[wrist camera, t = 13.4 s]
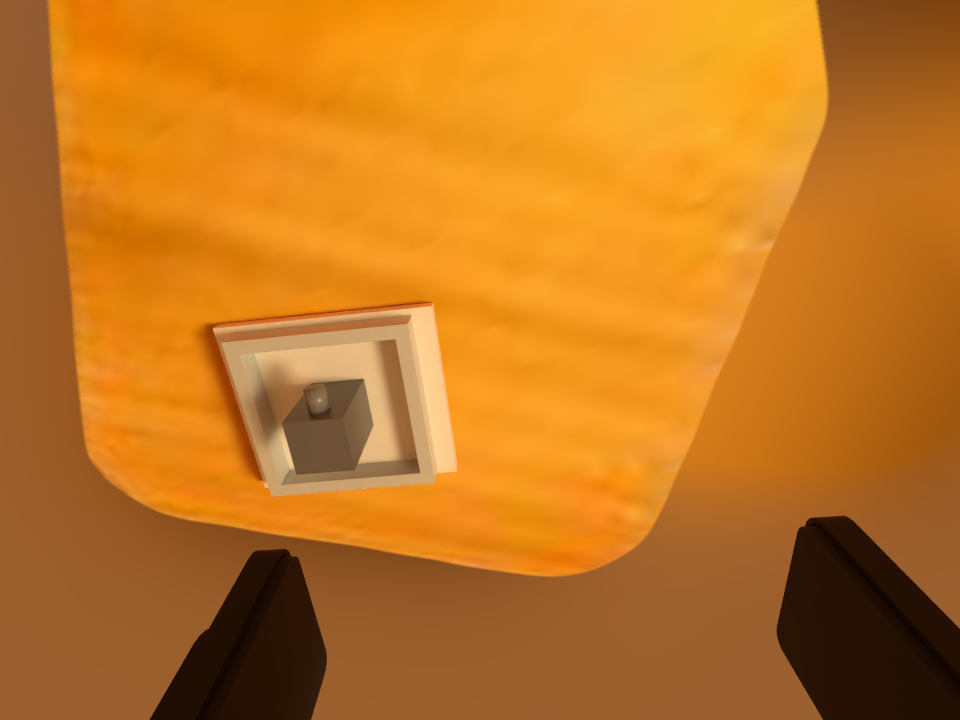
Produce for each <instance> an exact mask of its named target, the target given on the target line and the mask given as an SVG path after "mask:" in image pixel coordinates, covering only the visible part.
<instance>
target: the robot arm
mask: <svg viewBox="0 0 960 720" xmlns="http://www.w3.org/2000/svg"><path fill="white" fill-rule="evenodd" d="M777 637H778V641H779V644H780V647H781V649H782V651H783V653H784V654H785V656H786V658H787V659H788V661H789V663H790V664H791V666H792V668H793V669H794V671H795V673H796V675H797V676H798V678H799V680H800V681H801V683H802V684H803V686H804V688H805V690H806V691H807V693H808V695H809V696H810V698H811V700H812V701H813V703H814V705H815V706H816V708H817V710H818V711H819V713H820V715H821V717H822V718H823V720H960V629H959V628H958V627H957V626H956V625H955V624H954V623H953V622H952V621H951V619H949V617H948V616H946V614H945V613H944V612H943V611H942V610H941V609H940V608H938V606H937V605H936V604H935V603H934V602H933V601H932V600H931V599H930V598H929V597H928V596H927V595H926V594H925V593H924V592H923V591H922V590H921V589H920V588H919V587H918V586H917V585H916V584H915V583H914V582H913V581H912V580H911V579H910V578H909V577H908V576H907V575H906V574H905V573H904V572H903V571H902V570H901V569H900V568H899V567H898V566H897V565H896V564H895V563H894V562H893V561H892V560H891V559H890V558H889V557H888V556H887V555H886V554H885V553H884V552H883V551H882V550H881V549H880V547H879V546H877V544H875V543H874V541H873V540H872V539H871V538H870V537H869V536H868V535H866V533H865V532H864V531H863V530H862V529H860V527H859V526H858V525H857V524H856V523H855V522H854V521H852V520H851V519H850V518H848V517H846V516H835V517H817V518H810V519H809V520H808V521H807V522H806V525H805V527H801V528H799V530H798V532H797V537H796V541H795V547H794V551H793V555H792V560H791V564H790V570H789V574H788V578H787V583H786V588H785V592H784V597H783V601H782V606H781V610H780V615H779V620H778V624H777ZM326 663H327V654H326V649H325V646H324V642H323V639H322V636H321V632H320V629H319V625H318V622H317V619H316V615H315V612H314V608H313V605H312V602H311V598H310V595H309V592H308V588H307V585H306V581H305V578H304V575H303V572H302V568H301V565H300V562H299V559H298V558H297V557H291V555H290V553H289V551H287V549H278V550H261V551H255V552H253V553H252V555H251V556H250V557H249V559H248V561H247V563H246V564H245V566H244V568H243V569H242V571H241V573H240V575H239V577H238V578H237V580H236V582H235V584H234V585H233V587H232V589H231V591H230V593H229V594H228V596H227V598H226V600H225V601H224V603H223V605H222V607H221V608H220V610H219V612H218V614H217V615H216V617H215V619H214V621H213V623H212V624H211V626H210V628H209V629H207V630H206V631H204V632H203V633H202V634H201V635H200V636H199V637H198V639H197V640H196V642H195V643H194V644H193V646H192V648H191V649H190V651H189V653H188V655H187V656H186V658H185V660H184V661H183V663H182V665H181V667H180V668H179V670H178V672H177V674H176V675H175V677H174V679H173V680H172V682H171V684H170V686H169V687H168V689H167V691H166V693H165V694H164V696H163V698H162V700H161V701H160V703H159V704H158V706H157V708H156V710H155V711H154V713H153V715H152V717H151V718H150V720H311V718H312V714H313V711H314V708H315V704H316V701H317V698H318V694H319V691H320V688H321V685H322V681H323V678H324V674H325V670H326Z"/></svg>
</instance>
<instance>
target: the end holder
mask: <svg viewBox="0 0 960 720" xmlns="http://www.w3.org/2000/svg"><path fill="white" fill-rule="evenodd" d="M213 331H214V334H215V337H216V340H217V343H218V346H219V349H220V353H221V356H222V359H223V362H224V365H225V368H226V371H227V374H228V377H229V380H230V383H231V386H232V389H233V392H234V395H235V398H236V401H237V404H238V407H239V410H240V413H241V416H242V419H243V422H244V425H245V428H246V431H247V434H248V437H249V440H250V443H251V446H252V449H253V452H254V455H255V458H256V461H257V464H258V467H259V470H260V473H261V476H262V479H263V482H264V485H265V488H267V487H269V490H270V493H271V496H272V497H273V496H285V495H297V494H309V493H321V492H333V491H344V490H356V489H368V488H380V487H392V486H404V485H416V484H428V483H435V480H436V474H437V473H444V472H456V471H457V460H456V453H455V446H454V440H453V433H452V426H451V420H450V413H449V406H448V400H447V393H446V386H445V379H444V373H443V366H442V359H441V353H440V346H439V339H438V333H437V326H436V319H435V313H434V306H433V302H430V303H421V304H411V305H401V306H391V307H382V308H372V309H362V310H352V311H343V312H333V313H323V314H313V315H304V316H294V317H284V318H274V319H265V320H255V321H245V322H235V323H226V324H219V325H217V326H216V327H214V328H213ZM356 379H364V381H365V386H366V391H367V396H368V401H369V406H370V410H371V415H372V420H373V428H372V430H371V433H370V435H369V437H368V440H367V442H366V445H365V447H364V449H363V452H362V454H361V457H360V459H359V462H358V464H357V466H356V469H355V470H353V471H340V472H327V473H314V474H301V475H296V471H295V468H294V464H293V461H292V457H291V454H290V450H289V447H288V443H287V440H286V436H285V433H284V429H283V426H282V422H283V421H284V419H285V418H286V417H287V415H288V414H289V413H290V412H291V410H292V409H293V408H294V406H295V405H296V404H297V402H298V401H299V400H300V398H301V397H302V396H303V394H304V393H303V389H304V388H305V387H307V386H309V385H311V384H312V383H322V382H333V381H345V380H356Z"/></svg>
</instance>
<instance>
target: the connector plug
mask: <svg viewBox="0 0 960 720" xmlns="http://www.w3.org/2000/svg"><path fill="white" fill-rule="evenodd" d="M303 393H304V394H303V396H302V397H301V398H300V400H299V401H298V402H297V404H296V405H295V406H294V408H293V409H292V410H291V412H290V413H289V414H288V415H287V417H286V418H285V419H284V421H283V422H282V426H283V429H284V433H285V436H286V440H287V443H288V447H289V450H290V454H291V457H292V461H293V464H294V468H295V471H296V475H301V474H314V473H327V472H340V471H353V470H355V469H356V466H357V464H358V462H359V459H360V457H361V454H362V452H363V449H364V447H365V445H366V442H367V440H368V437H369V435H370V433H371V430H372V428H373V420H372V415H371V410H370V406H369V401H368V396H367V391H366V386H365V381H364V379H356V380H345V381H333V382H322V383H312V384H311V385H309V386H307V387H305V388H304V389H303Z"/></svg>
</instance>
